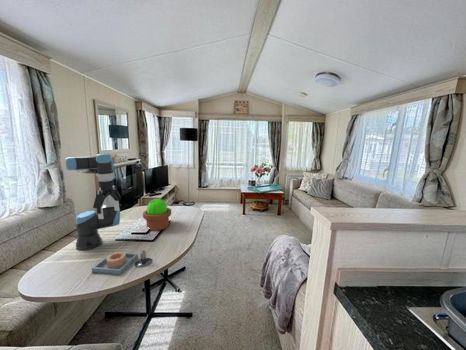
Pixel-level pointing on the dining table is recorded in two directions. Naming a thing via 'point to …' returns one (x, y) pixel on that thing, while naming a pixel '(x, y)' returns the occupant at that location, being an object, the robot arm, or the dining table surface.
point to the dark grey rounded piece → (143, 260)
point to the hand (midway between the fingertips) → (109, 214)
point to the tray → (103, 268)
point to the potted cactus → (157, 215)
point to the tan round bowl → (116, 260)
